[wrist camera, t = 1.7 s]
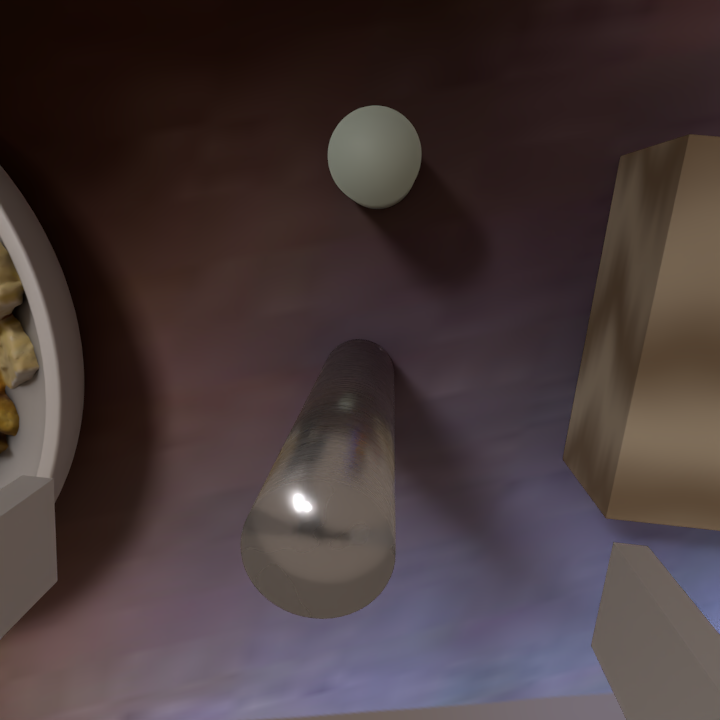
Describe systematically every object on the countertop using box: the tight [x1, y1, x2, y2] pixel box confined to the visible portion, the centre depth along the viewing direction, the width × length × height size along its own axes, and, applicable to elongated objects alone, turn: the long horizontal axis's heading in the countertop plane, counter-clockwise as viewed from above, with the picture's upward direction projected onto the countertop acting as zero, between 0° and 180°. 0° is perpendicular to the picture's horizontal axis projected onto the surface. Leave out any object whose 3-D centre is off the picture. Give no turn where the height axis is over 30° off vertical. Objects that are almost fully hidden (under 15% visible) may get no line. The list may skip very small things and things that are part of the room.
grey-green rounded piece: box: [328, 105, 422, 209], centre depth 23 cm, size 4×4×5 cm
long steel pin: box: [241, 339, 395, 619], centre depth 20 cm, size 4×4×16 cm
